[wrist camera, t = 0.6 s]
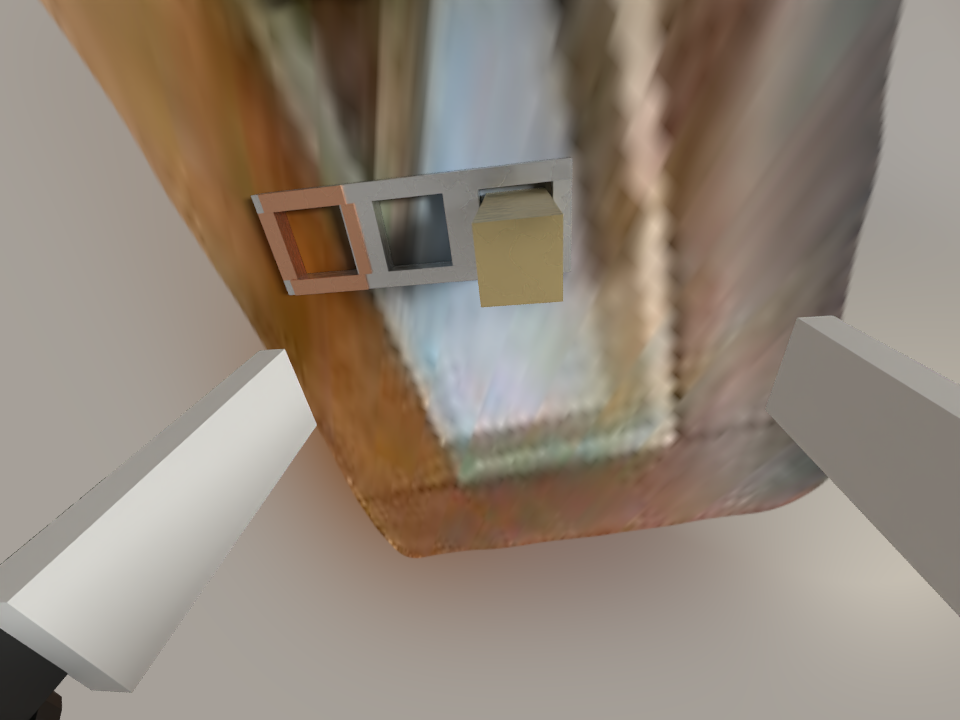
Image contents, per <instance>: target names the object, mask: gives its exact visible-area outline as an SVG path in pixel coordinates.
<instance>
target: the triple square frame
mask: <svg viewBox="0 0 960 720" xmlns="http://www.w3.org/2000/svg"><path fill="white" fill-rule="evenodd" d="M549 181H551V197H552V199H553V200H554V202H555V203H556V205H557V206H558V207H559V209H560V210H561V212H562V213H563V273H568V272H571V216H572V158H571V157H566V158H557V159H549V160H540V161H532V162H523V163H515V164H506V165H498V166H489V167H481V168H472V169H464V170H455V171H447V172H438V173H430V174H421V175H413V176H404V177H396V178H387V179H379V180H370V181H362V182H353V183H345V184H336V185H328V186H319V187H311V188H302V189H294V190H285V191H277V192H268V193H261V194H256V195H252V196H251V198H252V200H253V203H254V206H255V208H256V211H257V213H258V216H259V218H260V221H261V224H262V226H263V229H264V231H265V234H266V237H267V239H268V242H269V244H270V247H271V250H272V252H273V255H274V257H275V260H276V263H277V265H278V268H279V270H280V273H281V276H282V278H283V281H284V283H285V286H286V288H287V291H288V294H289V295H306V294H318V293H331V292H343V291H355V290H368V289H371V288H383V287H395V286H408V285H420V284H432V283H445V282H457V281H469V280H478V275H477V267H476V258H475V249H474V240H473V232H472V222H473V220H474V218H475V216H476V214H477V211H478V209H479V207H480V205H481V200H480V190H479V189H486V188H495V187H504V186H513V185H522V184H531V183H540V182H549ZM441 193H442V194H443V201H444V208H445V215H446V222H447V229H448V235H449V242H450V249H451V256H452V261H444V262H433V263H422V264H410V265H399V266H394V265H393V260H392V256H391V251H390V247H389V243H388V238H387V234H386V229H385V225H384V221H383V216H382V212H381V207H380V203H379V200H386V199H395V198H404V197H413V196H423V195H432V194H441ZM335 205H339V207H340V210H341V214H342V217H343V221H344V225H345V228H346V232H347V235H348V239H349V243H350V246H351V250H352V253H353V257H354V260H355V264H356V268H357V269H354V270H342V271H331V272H320V273H308V274H307V273H306V270H305V267H304V264H303V262H302V259H301V256H300V253H299V250H298V247H297V244H296V242H295V239H294V236H293V233H292V230H291V227H290V224H289V222H288V219H287V216H286V213H285V211H290V210H299V209H308V208H317V207H326V206H335Z"/></svg>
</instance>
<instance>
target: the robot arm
mask: <svg viewBox="0 0 960 720" xmlns="http://www.w3.org/2000/svg"><path fill="white" fill-rule="evenodd" d="M765 410H766V411H767V412H768V413H769V414H770V415H771V417H772V418H773V419H774V420H775V421H776V422H777V423H778V424H779V425H780V426H781V427H782V428H783V429H784V430H785V431H786V432H787V434H788V435H789V436H790V437H791V438H792V439H793V440H794V441H795V442H796V443H797V444H798V445H799V446H800V447H801V448H802V450H803V451H804V452H805V453H806V454H807V455H808V456H809V457H810V458H811V459H812V460H813V461H814V462H815V463H816V464H817V465H818V467H819V468H820V469H821V470H822V471H823V472H824V473H825V474H826V475H827V476H828V477H829V478H830V479H831V480H832V481H833V482H834V484H835V485H836V486H838V488H839V489H840V490H841V491H842V492H843V493H844V494H845V495H846V496H847V497H848V498H849V499H850V501H852V503H853V504H854V505H855V506H856V507H857V508H858V509H859V510H860V511H861V512H862V513H863V514H864V515H865V516H866V518H868V520H869V521H870V522H871V523H872V524H873V525H874V526H875V527H876V528H877V529H878V530H879V531H880V532H881V534H882V535H883V536H884V537H885V538H886V539H887V540H888V541H889V542H890V543H891V544H892V545H893V546H894V547H895V548H896V549H897V550H898V552H900V553H901V555H902V556H903V557H904V558H905V559H906V560H907V561H908V562H909V563H910V564H911V565H912V567H913V568H914V569H915V570H916V571H917V572H918V573H919V574H920V575H921V576H922V577H923V578H924V579H925V580H926V581H927V582H928V584H929V585H930V586H931V587H932V588H933V589H934V590H935V591H936V592H937V593H938V594H939V595H940V596H941V597H942V598H943V599H944V601H945V602H946V603H947V604H948V605H949V606H950V607H951V608H952V609H953V610H954V611H955V612H956V613H957V614H958V615H959V617H960V385H959V384H958V383H955V382H954V381H952V380H950V379H948V378H947V377H945V376H943V375H941V374H939V373H937V372H935V371H934V370H932V369H930V368H928V367H926V366H925V365H923V364H921V363H919V362H917V361H915V360H914V359H912V358H909V357H908V356H906V355H904V354H903V353H901V352H899V351H897V350H895V349H893V348H891V347H890V346H887V345H886V344H884V343H882V342H880V341H878V340H877V339H875V338H873V337H871V336H869V335H867V334H866V333H864V332H862V331H860V330H858V329H856V328H855V327H853V326H851V325H849V324H847V323H845V322H844V321H842V320H840V319H838V318H836V317H835V316H818V317H801V318H797V320H796V323H795V326H794V329H793V332H792V334H791V337H790V340H789V343H788V346H787V349H786V351H785V354H784V357H783V360H782V363H781V366H780V369H779V371H778V374H777V377H776V380H775V383H774V386H773V389H772V391H771V394H770V397H769V400H768V403H767V406H766V409H765ZM316 425H317V424H316V422H315V420H314V417H313V415H312V413H311V410H310V408H309V405H308V403H307V401H306V398H305V396H304V394H303V391H302V389H301V386H300V384H299V382H298V379H297V377H296V375H295V372H294V370H293V367H292V365H291V363H290V360H289V358H288V356H287V353H286V351H285V349H276V350H260V351H258V352H257V353H256V354H255V355H254V356H252V357H251V358H250V359H249V360H247V361H246V362H245V363H244V364H243V365H241V367H239V368H238V369H237V370H235V371H234V372H233V373H232V374H231V375H229V376H228V377H227V378H226V379H224V380H223V381H222V382H221V383H220V384H218V385H217V386H216V387H215V388H214V389H212V390H211V391H210V392H209V393H208V394H206V395H205V396H204V397H203V398H202V399H200V400H199V401H198V402H197V403H196V404H195V405H193V406H192V407H191V408H189V409H188V410H187V411H186V412H185V413H183V414H182V415H181V416H180V417H179V418H177V419H176V420H175V421H174V422H173V423H171V424H170V425H169V426H168V427H167V428H165V429H164V430H163V431H162V432H160V433H159V434H158V435H157V436H156V437H154V438H153V439H152V440H151V441H150V442H148V443H147V444H146V445H145V446H144V447H142V448H141V449H140V450H139V451H137V452H136V453H135V454H134V455H133V456H131V458H129V459H128V460H127V461H126V462H124V463H123V464H122V465H121V466H119V467H118V468H117V469H116V470H115V471H113V472H112V473H111V474H110V475H108V476H107V477H106V478H104V479H103V480H102V481H101V482H99V484H97V485H96V486H95V487H93V488H92V489H91V490H90V491H89V492H87V493H86V494H85V495H84V496H83V497H81V498H80V499H79V500H78V501H77V502H76V503H75V504H73V505H72V506H70V507H69V508H68V509H67V510H66V511H64V512H63V513H62V514H61V515H60V516H58V517H57V518H56V520H54V521H53V522H52V523H50V524H49V525H47V526H46V527H45V528H44V529H43V530H42V531H40V532H39V533H38V534H37V535H35V536H34V537H33V538H32V539H30V540H29V541H28V542H27V543H26V544H25V545H23V546H22V547H21V548H20V549H18V550H17V551H16V552H15V553H14V554H12V555H11V556H10V557H9V558H7V559H6V560H5V561H4V562H3V563H1V564H0V720H60V716H61V711H62V697H61V696H60V695H59V694H57V693H56V692H55V691H54V689H55V688H56V687H57V686H58V685H59V684H60V682H61V681H62V680H63V679H64V678H65V677H66V675H67V674H68V675H69V676H71V677H72V678H74V679H75V680H77V681H78V682H80V683H82V684H83V685H84V686H86V687H87V688H89V689H90V690H97V691H114V692H129V693H132V692H133V691H134V689H135V688H136V686H137V685H138V684H139V682H140V681H141V679H142V678H143V676H144V675H145V673H146V672H147V671H148V669H149V668H150V666H151V665H152V663H153V661H154V660H155V659H156V657H157V656H158V655H159V653H160V651H161V650H162V649H163V647H164V646H165V644H166V643H167V641H168V640H169V639H170V637H171V636H172V634H173V633H174V631H175V630H176V628H177V627H178V625H179V624H180V623H181V621H182V620H183V618H184V617H185V615H186V614H187V613H188V611H189V610H190V608H191V607H192V605H193V604H194V602H195V601H196V599H197V598H198V596H199V595H200V594H201V592H202V591H203V589H204V588H205V586H206V585H207V584H208V582H209V580H210V579H211V578H212V576H213V575H214V573H215V572H216V570H217V569H218V567H219V566H220V565H221V563H222V562H223V560H224V559H225V557H226V556H227V555H228V553H229V552H230V550H231V549H232V547H233V546H234V544H235V543H236V541H237V540H238V539H239V537H240V536H241V534H242V532H243V531H244V530H245V528H246V527H247V525H248V524H249V523H250V521H251V520H252V518H253V517H254V515H255V514H256V512H257V511H258V509H259V508H260V507H261V505H262V504H263V502H264V501H265V499H266V498H267V497H268V495H269V493H270V492H271V491H272V489H273V488H274V486H275V485H276V483H277V482H278V480H279V479H280V478H281V476H282V475H283V473H284V472H285V470H286V469H287V468H288V466H289V465H290V463H291V462H292V460H293V459H294V457H295V456H296V454H297V453H298V452H299V450H300V449H301V447H302V446H303V444H304V443H305V441H306V440H307V438H308V437H309V435H310V434H311V433H312V431H313V430H314V428H315V427H316Z"/></svg>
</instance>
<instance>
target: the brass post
mask: <svg viewBox="0 0 960 720" xmlns="http://www.w3.org/2000/svg"><path fill="white" fill-rule="evenodd" d="M472 232H473V240H474V249H475V258H476V267H477V275H478V284H479V293H480V302H481V307H492V306H506V305H520V304H534V303H547V302H561V301H563V213H562V212H561V210H560V209H559V207H558V206H557V205H556V203H555V202H554V200H553V199H552V197H551V196H550V194H549V193H548V191H547V190H546V188H545V187H540V188H531V189H522V190H513V191H504V192H495V193H486V195H485V197H484V199H483V201H482V203H481V205H480V207H479V209H478V211H477V214H476V216H475V218H474V220H473V222H472Z"/></svg>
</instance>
